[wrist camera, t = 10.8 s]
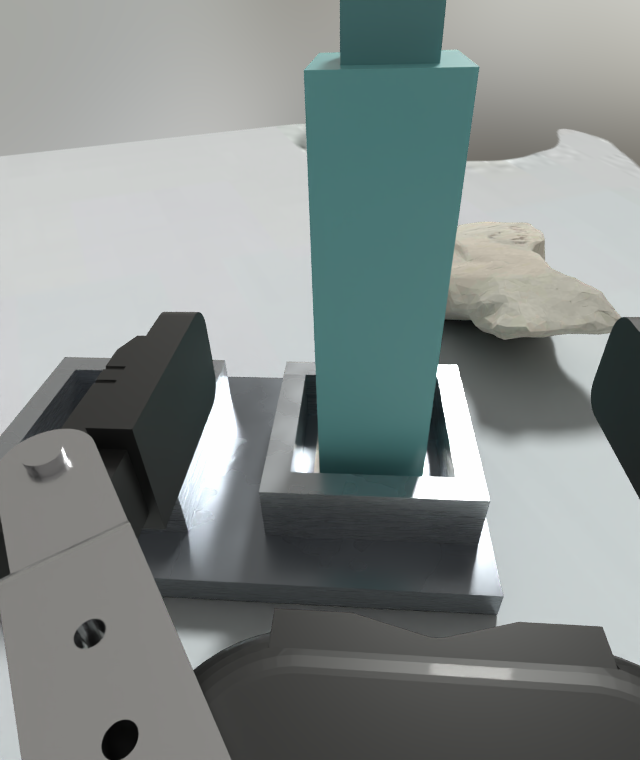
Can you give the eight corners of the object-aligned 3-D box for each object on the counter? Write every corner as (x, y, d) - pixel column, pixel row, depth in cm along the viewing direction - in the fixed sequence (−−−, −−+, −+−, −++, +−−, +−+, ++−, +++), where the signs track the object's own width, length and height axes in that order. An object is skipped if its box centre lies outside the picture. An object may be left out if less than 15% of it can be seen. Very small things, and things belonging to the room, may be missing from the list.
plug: (320, 495, 21) (300, -17, 11) (328, 429, 24) (318, -16, 14) (419, 500, 21) (492, -24, 11) (414, 432, 24) (465, -21, 14)
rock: (335, 391, 29) (621, 384, 27) (327, 318, 27) (640, 302, 24) (359, 261, 47) (532, 249, 45) (355, 210, 45) (538, 194, 42)
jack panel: (-38, 585, 20) (-87, 525, 17) (94, 390, 29) (73, 335, 27) (497, 614, 18) (518, 552, 16) (452, 399, 28) (461, 341, 26)
